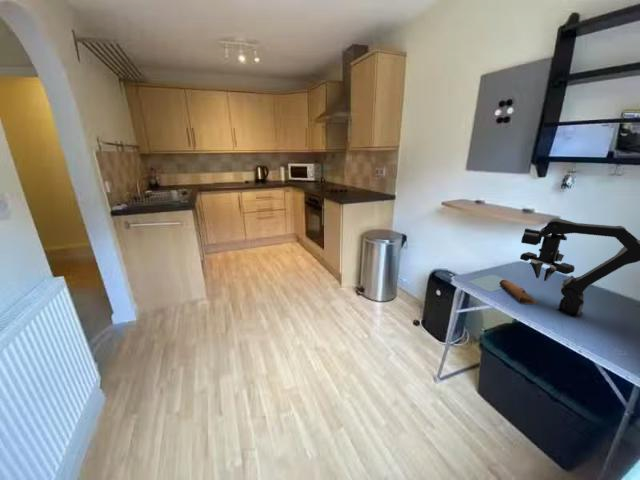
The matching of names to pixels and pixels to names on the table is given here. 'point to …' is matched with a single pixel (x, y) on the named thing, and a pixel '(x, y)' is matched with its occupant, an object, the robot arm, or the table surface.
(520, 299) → the sunglasses case
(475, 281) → the mat
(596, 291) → the table surface
